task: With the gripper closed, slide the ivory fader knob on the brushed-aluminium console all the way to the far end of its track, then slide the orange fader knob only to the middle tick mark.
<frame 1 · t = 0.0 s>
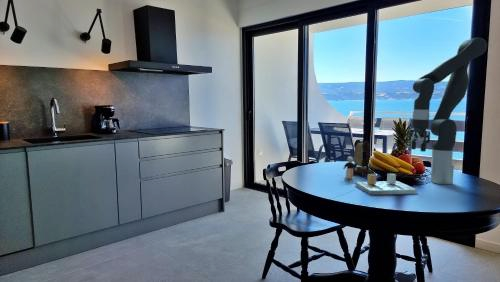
hand: (417, 150, 170), 17 cm above the table, tool pointing down, fingers open, 8 cm apart
console: (384, 189, 159), on the table
fader 1: (371, 178, 161), point 5 cm above the table, slide at -3.5 cm
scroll: (361, 174, 195), on the table
fader 2: (391, 178, 162), point 5 cm above the table, slide at -3.5 cm
grandmother figurine: (349, 179, 181), on the table
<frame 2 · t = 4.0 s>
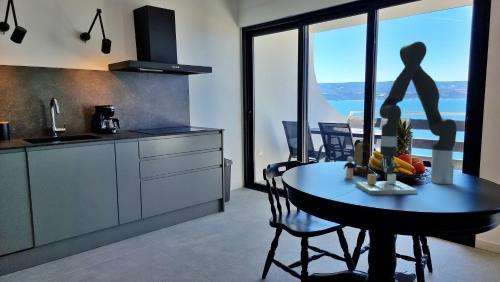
hand: (387, 179, 166), 3 cm above the table, tool pointing down, fingers closed
fader 2: (391, 178, 162), point 5 cm above the table, slide at -3.4 cm, touching gripper
everything else where it was.
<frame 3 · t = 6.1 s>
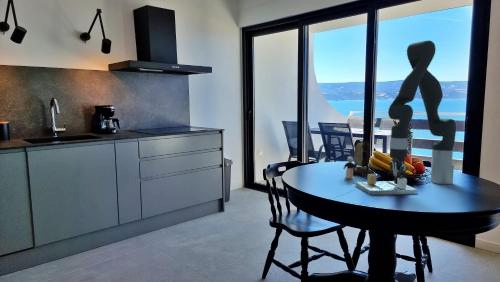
hand: (397, 183, 157), 3 cm above the table, tool pointing down, fingers closed
fader 2: (401, 182, 152), point 5 cm above the table, slide at 6.1 cm, touching gripper
everything else where it was.
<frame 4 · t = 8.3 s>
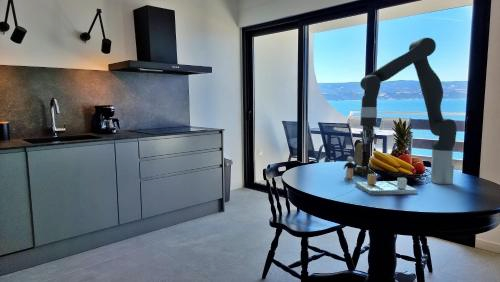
hand: (367, 151, 166), 17 cm above the table, tool pointing down, fingers closed
fader 2: (401, 182, 152), point 5 cm above the table, slide at 6.1 cm
everything else where it was.
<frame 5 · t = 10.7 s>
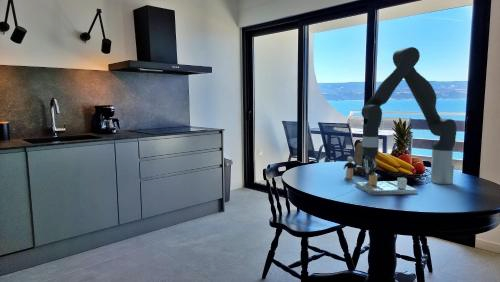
hand: (369, 180, 164), 3 cm above the table, tool pointing down, fingers closed
fader 1: (372, 179, 160), point 5 cm above the table, slide at -2.1 cm, touching gripper
everything else where it was.
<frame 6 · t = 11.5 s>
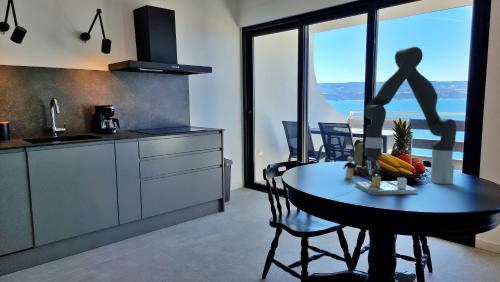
hand: (372, 181, 161), 3 cm above the table, tool pointing down, fingers closed
fader 1: (376, 181, 156), point 5 cm above the table, slide at 1.4 cm, touching gripper
everything else where it was.
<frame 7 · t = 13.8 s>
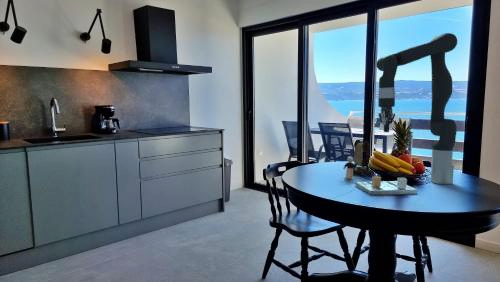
hand: (386, 132, 166), 27 cm above the table, tool pointing down, fingers closed
fader 1: (376, 181, 156), point 5 cm above the table, slide at 1.5 cm
everything else where it was.
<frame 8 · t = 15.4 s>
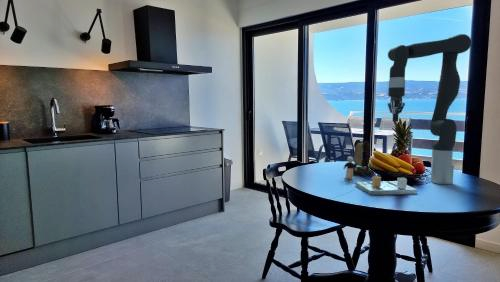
hand: (395, 121, 167), 32 cm above the table, tool pointing down, fingers closed
nothing on the table moved.
at the end: fader 2 slide at 6.1 cm; fader 1 slide at 1.5 cm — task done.
